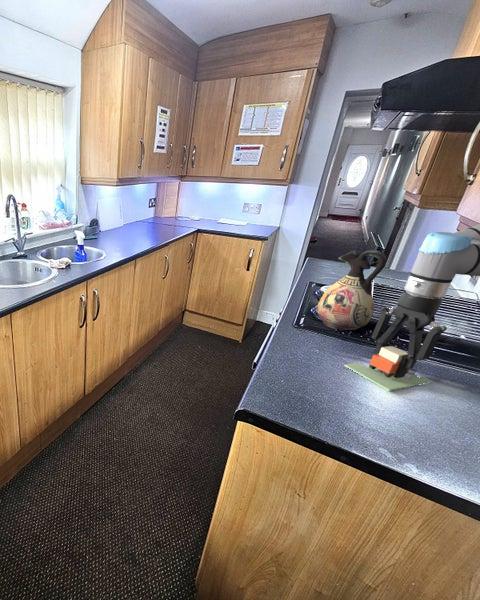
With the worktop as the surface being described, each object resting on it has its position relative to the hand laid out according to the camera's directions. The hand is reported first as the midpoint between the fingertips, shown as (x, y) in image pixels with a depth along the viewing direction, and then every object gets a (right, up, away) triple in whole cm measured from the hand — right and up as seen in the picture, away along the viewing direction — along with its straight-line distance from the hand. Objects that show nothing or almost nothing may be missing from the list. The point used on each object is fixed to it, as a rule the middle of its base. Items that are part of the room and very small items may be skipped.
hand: (387, 370), depth 92 cm
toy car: (0, 0, 0) cm, 0 cm away
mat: (0, -1, 0) cm, 1 cm away
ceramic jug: (+7, +9, +26) cm, 29 cm away
